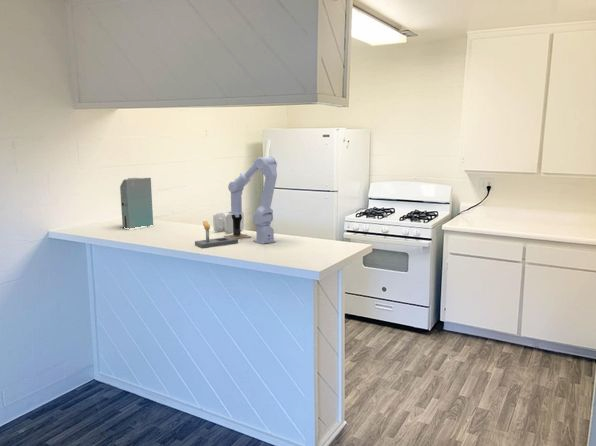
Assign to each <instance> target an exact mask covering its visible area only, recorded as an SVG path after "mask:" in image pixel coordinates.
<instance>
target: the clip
mask: <svg viewBox="0 0 596 446" xmlns="http://www.w3.org/2000/svg"><path fill="white" fill-rule="evenodd" d="M202 224H203V227H204V230H206V229H209V230H210V229H211V225H210V223H208V221H207V220H204V221H203V222H202Z"/></svg>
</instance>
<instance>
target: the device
mask: <svg viewBox="0 0 596 446" xmlns="http://www.w3.org/2000/svg"><path fill="white" fill-rule="evenodd" d="M119 190H120V192H119V193H120V204H121V205H120V207H121V220H122V228H123V227H125V228H129V229H130V228H135V227H141V226H150V225H153V226H154V215H153V214H154V213H153V212H154V211H153V194H152V191H153V190H152V178H151V177H128V178H126V179H123V180H122V182H121V184H120V185H119Z"/></svg>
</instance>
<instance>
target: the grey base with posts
mask: <svg viewBox="0 0 596 446" xmlns="http://www.w3.org/2000/svg"><path fill="white" fill-rule="evenodd" d="M234 244H239V239H235V238H233V237H224V236H223V237H217V238H210V229H205V239H203V240H195V241H194V246H196V247H198V248H200V249H206V248H214V247H221V246H228V245H229V246H230V245H234Z"/></svg>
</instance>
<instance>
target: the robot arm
mask: <svg viewBox="0 0 596 446" xmlns="http://www.w3.org/2000/svg"><path fill="white" fill-rule="evenodd" d="M277 167H278V162H277V160H276V158H275V157H273V156H268V157H264V156H263V157H262V156H260V157H258V158H256V159H255V160H254V161H253V164H252V165H251V166H250V167H249V168H248V169H247V170H246V171H245V172H241V173H239V176H237V178H235V179H234V180H233V181H230V182H229V183H228V185H227V187H228V188H227V189H228V191H229V192H230V211H231V212H229V213H231V214H234V215H231V216H232V219H233V221H234V226H235V229H239V228H240V222H241V219H242V217H241V216H242V215H241V214H242V212H243V208H242V207H243V204H242V199H243V198H242V195H243V190H244V187H245V186H246V185H247V184H248V183H249V182H250V181H251V177H252V176H255V174H256V173H257V172H260V173H261V174H262V175H263V176H264V177H265V179H264V183H263V188H262V192H261V198H260V203H259V206H258V208H257V209H255V213H254V214H253V216H252V221H253V223H254V224H255V228H256V230H255V231H256V239H253V242H255V243H259V244H271V243H275V242H276V241H275V240H274V239H275V237H274V236H275V235H274V233H275V232H274V228H273V227H272V226H271V224H272V222H273V219H274V215H273V213H274V210H273V209H272V208H271V207H272V201H273V196H274V191H275V187H276V182H277V177H278V172H277Z"/></svg>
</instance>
